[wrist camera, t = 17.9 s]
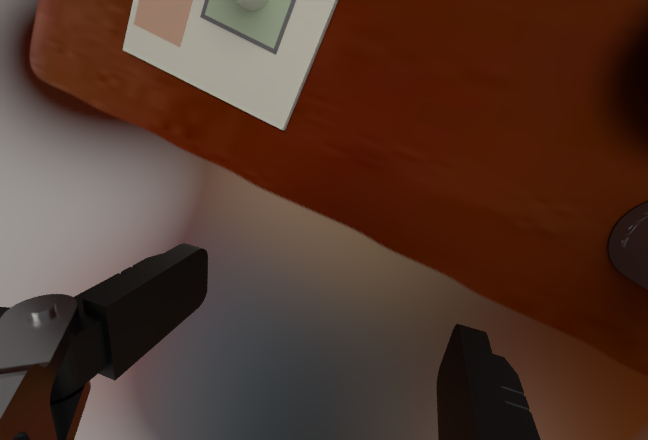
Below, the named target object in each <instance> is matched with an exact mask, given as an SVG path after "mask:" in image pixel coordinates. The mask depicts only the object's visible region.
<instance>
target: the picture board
mask: <svg viewBox="0 0 648 440" xmlns="http://www.w3.org/2000/svg"><path fill="white" fill-rule="evenodd" d="M337 2H338V0H268V2H267V4H266V5H265V6H264V7H263V8H262V9H261V10H258V11H248V10H246V9H245V8H243V7H242V6H241V5H240V4H239V3H237V2H236V1H235V0H133V4H132V9H131V13H130V18H129V23H128V27H127V32H126V37H125V41H124V46H123V50H124V51H126V52H128V53H130V54H132V55H134V56H136V57H138V58H140V59H142V60H144V61H146V62H148V63H150V64H152V65H154V66H156V67H158V68H160V69H162V70H164V71H166V72H168V73H170V74H172V75H174V76H176V77H178V78H180V79H182V80H183V81H185V82H187V83H189V84H191V85H193V86H195V87H197V88H199V89H201V90H203V91H205V92H207V93H209V94H211V95H213V96H215V97H217V98H219V99H221V100H223V101H225V102H227V103H229V104H231V105H233V106H235V107H237V108H239V109H241V110H243V111H245V112H247V113H249V114H251V115H253V116H255V117H257V118H259V119H261V120H263V121H265V122H267V123H269V124H271V125H273V126H275V127H277V128H279V129H281V130H286V127H287V125H288V122H289V120H290V117H291V115H292V113H293V110H294V108H295V105H296V103H297V100H298V98H299V95H300V93H301V91H302V88H303V86H304V83H305V81H306V78H307V76H308V73H309V71H310V69H311V66H312V64H313V61H314V59H315V56H316V54H317V51H318V49H319V47H320V44H321V42H322V39H323V37H324V34H325V32H326V29H327V27H328V25H329V22H330V20H331V17H332V15H333V12H334V10H335V7H336V5H337Z"/></svg>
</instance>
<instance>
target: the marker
mask: <svg viewBox="0 0 648 440" xmlns="http://www.w3.org/2000/svg"><path fill="white" fill-rule="evenodd" d="M235 1H236V2H237V3H239V4H240V5H241V6H242V7H243V8H245V9H246V10H248V11H258V10H261V9H262V8H263V7H264V6H265V5H266V4H267V2H268V0H235Z"/></svg>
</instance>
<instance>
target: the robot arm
mask: <svg viewBox="0 0 648 440" xmlns="http://www.w3.org/2000/svg"><path fill="white" fill-rule="evenodd" d="M608 249H609V256H610V259H611V261H612V263H613V265H614V266H615V267H616V269H617V270H618V271H619V272H621V273H622V274H623V275H624V276H626V277H628V278H629V279H631V280H633V281H634V282H636V283H637V284H639V285H641V286H642V287H644V288H646V289H647V290H648V202H646V203H644V204H642V205H640V206H637V207H636V208H634V209H633V210H631V211H630V212H628V213H627V214H626V215H625V216H624V217H623V218H622V219H621V220H620V221H619V222H618V224H617V225H616V226H615V228H614V229H613V232H612V234H611V236H610V240H609V246H608ZM207 274H208V254H207V251H206V250H205V249H202V248H199V247H195V246H192V245H189V244H185V243H183V244H180V245H178V246H176V247H174V248H173V249H171V250H169V251H167V252H165V253H163V254H159V255H156V256H152V257H149V258H146V259H144V260H142V261H141V262H139V263H137V264H135V265H133V267H129V268H127V269H126V270H124V271H122V272H121V274H119V273H118V274H116V275H114V276H112V277H110V278H109V279H107V280H105V281H103V282H101V283H100V284H97V285H95V286H94V287H92V288H90V289H88V290H86V291H84V292H82V293H80V294H79V295H77V296H75V297H72V296H69V295H63V294H49V295H43V296H38V297H34V298H31V299H28V300H25V301H23V302H20V303H18V304H16V305H14V306H13V307H11V308H7V307H0V440H74V438H75V435H76V432H77V429H78V426H79V423H80V420H81V417H82V413H83V411H84V407H85V404H86V401H87V398H88V395H89V392H90V388H91V383H90V380H91V379H92V378H93V377H94V376H96V375H97V374H98V373H99V374H101V375H103V376H106V377H108V378H110V379H113V380H116V379H117V378H118V377H120V376H121V375H122V374H123V373H124V372H125V371H126V370H128V369H129V368H130V367H131V366H132V365H133V364H134V363H135V362H137V361H138V360H139V359H140V358H141V357H142V356H144V355H145V354H146V353H147V352H148V351H149V350H151V349H152V348H153V347H154V346H155V345H156V344H157V343H159V342H160V341H161V340H162V339H163V338H164V337H165V336H166V335H168V334H169V333H170V332H171V331H172V330H173V329H174V328H176V327H177V326H178V325H179V324H180V323H181V322H183V320H185V319H186V318H187V317H188V316H189V315H191V314H192V313H193V312H194V311H195V310H196V309H197V308H199V307H200V305H201V304H202V302H203V301H204V299H205V297H206V293H207V278H208V277H207V276H208V275H207ZM437 411H438V436H439V440H540V437H539V434H538V431H537V429H536V426H535V423H534V420H533V417H532V414H531V412H529V405H528V403H527V400H526V397H525V396H524V391H523V388H522V385H521V382H520V380H519V377H518V374H517V373H516V372H515V371H514V369H513V368H512V367H511V366H510V364H509V363H508V362H507V360H506V359H505V358H504V357H501V356H498V355H495V354H492V350H491V347H490V343H489V339H488V336H487V334H486V332H484V331H480V330H477V329H473V328H470V327H466V326H463V325H459V324H456V325H455V327H454V329H453V331H452V334H451V337H450V340H449V342H448V345H447V348H446V351H445V353H444V356H443V359H442V362H441V364H440V368H439V372H438V378H437Z"/></svg>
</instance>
